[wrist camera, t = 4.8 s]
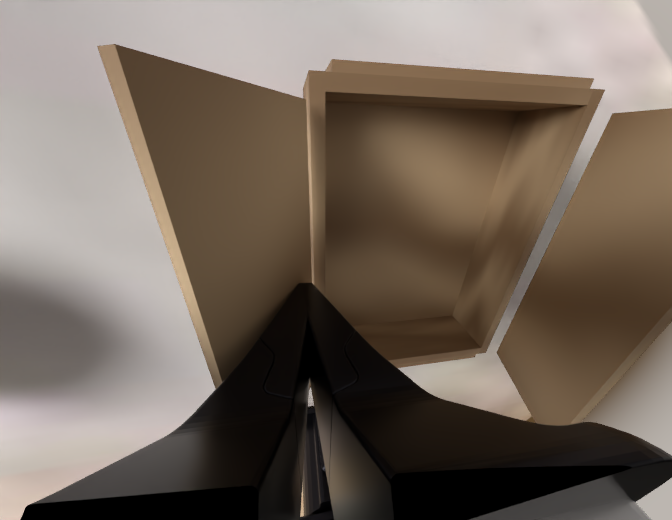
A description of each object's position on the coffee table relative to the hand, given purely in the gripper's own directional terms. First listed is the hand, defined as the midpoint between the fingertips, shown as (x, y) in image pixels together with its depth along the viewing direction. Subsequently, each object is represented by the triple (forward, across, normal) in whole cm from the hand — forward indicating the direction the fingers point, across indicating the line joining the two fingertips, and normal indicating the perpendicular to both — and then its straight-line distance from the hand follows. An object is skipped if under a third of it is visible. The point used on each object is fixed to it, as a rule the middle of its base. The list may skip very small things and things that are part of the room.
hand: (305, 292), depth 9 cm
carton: (+5, -6, 0) cm, 8 cm away
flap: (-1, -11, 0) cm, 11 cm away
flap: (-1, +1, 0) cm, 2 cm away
